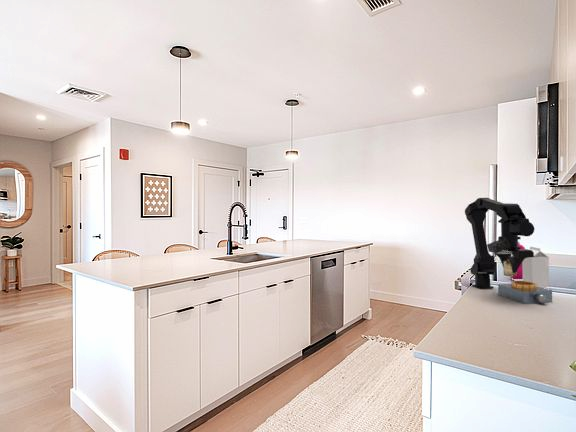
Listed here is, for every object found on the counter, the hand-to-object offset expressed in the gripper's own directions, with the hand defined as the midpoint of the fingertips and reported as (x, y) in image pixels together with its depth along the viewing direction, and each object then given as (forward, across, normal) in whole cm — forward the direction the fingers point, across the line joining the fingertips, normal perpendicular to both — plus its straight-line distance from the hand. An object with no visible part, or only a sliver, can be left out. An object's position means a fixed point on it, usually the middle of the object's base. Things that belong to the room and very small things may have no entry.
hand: (510, 271), depth 136 cm
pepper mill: (+12, -29, +26) cm, 41 cm away
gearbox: (+11, +1, +6) cm, 13 cm away
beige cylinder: (+2, 0, 0) cm, 2 cm away
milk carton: (+12, -13, +22) cm, 28 cm away
